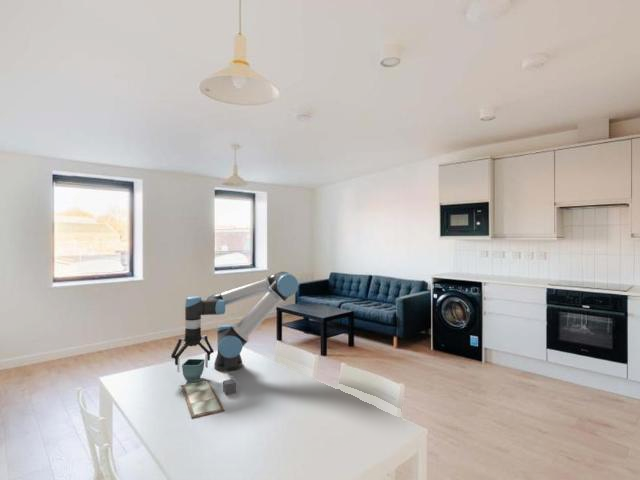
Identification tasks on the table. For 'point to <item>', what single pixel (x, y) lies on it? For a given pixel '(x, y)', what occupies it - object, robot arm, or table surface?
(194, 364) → the flower pot
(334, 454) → the table surface
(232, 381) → the gray block
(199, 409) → the board
